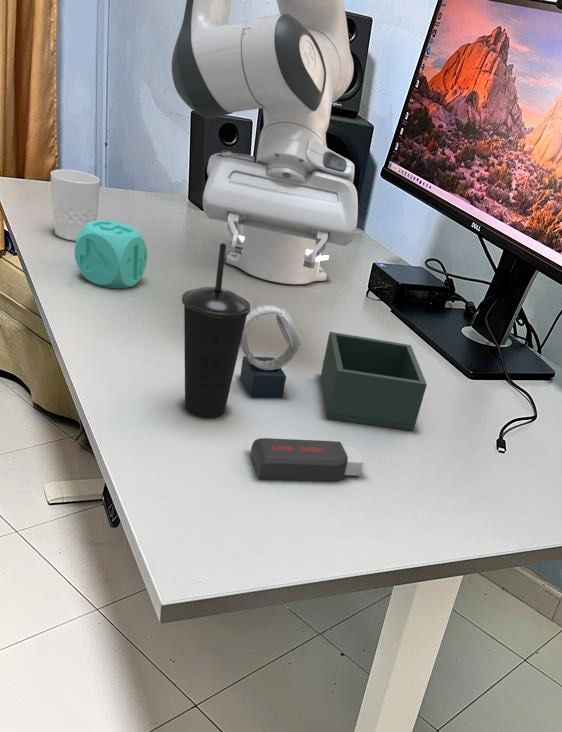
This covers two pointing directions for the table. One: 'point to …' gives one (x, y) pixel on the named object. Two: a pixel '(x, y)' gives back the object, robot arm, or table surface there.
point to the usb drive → (304, 460)
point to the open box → (371, 382)
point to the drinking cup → (211, 344)
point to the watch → (266, 372)
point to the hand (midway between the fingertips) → (273, 258)
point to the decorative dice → (111, 254)
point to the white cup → (73, 201)
